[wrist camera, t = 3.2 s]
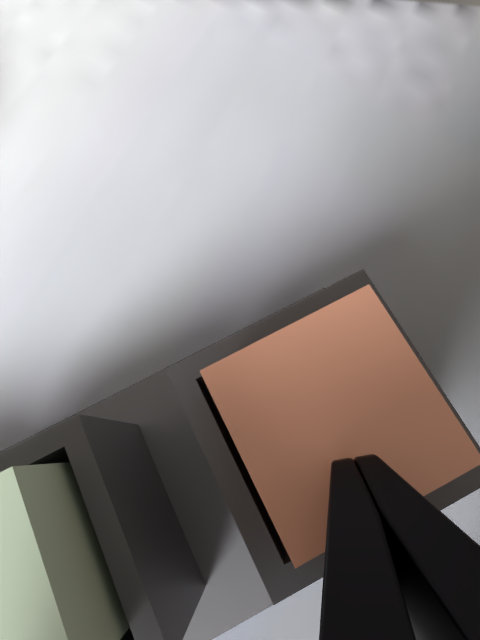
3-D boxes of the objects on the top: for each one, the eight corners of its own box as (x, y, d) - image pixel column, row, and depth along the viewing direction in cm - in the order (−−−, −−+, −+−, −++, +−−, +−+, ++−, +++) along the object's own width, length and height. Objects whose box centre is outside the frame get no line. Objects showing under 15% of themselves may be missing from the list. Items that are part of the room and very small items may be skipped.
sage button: (153, 595, 12) (84, 687, 8) (18, 669, 12) (-143, 814, 7) (101, 459, 14) (11, 466, 9) (-23, 524, 13) (-185, 566, 9)
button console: (444, 497, 16) (559, 529, 10) (-183, 852, 14) (-541, 1175, 8) (322, 296, 18) (350, 218, 12) (-224, 573, 17) (-519, 648, 10)
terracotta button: (405, 457, 13) (485, 462, 8) (284, 523, 13) (295, 568, 8) (334, 338, 14) (368, 283, 10) (222, 397, 14) (199, 370, 9)
